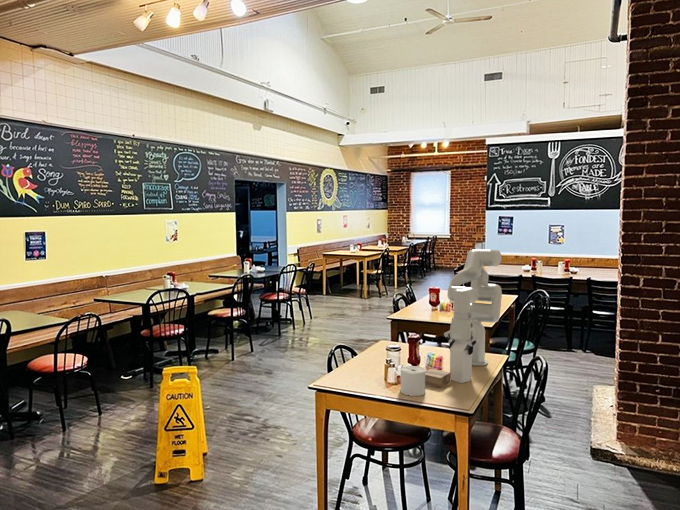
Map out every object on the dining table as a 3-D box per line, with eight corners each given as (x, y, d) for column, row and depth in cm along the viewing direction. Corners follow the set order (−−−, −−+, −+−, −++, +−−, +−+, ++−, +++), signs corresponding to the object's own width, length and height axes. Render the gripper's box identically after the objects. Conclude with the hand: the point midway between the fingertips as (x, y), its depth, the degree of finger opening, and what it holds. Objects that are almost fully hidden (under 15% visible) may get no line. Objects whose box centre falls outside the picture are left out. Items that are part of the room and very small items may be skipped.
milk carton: (462, 383, 227) (462, 343, 225) (449, 379, 232) (450, 340, 231) (471, 380, 231) (472, 340, 230) (459, 376, 237) (459, 337, 235)
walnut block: (430, 378, 235) (431, 368, 235) (450, 383, 229) (450, 372, 228) (420, 384, 227) (420, 373, 227) (440, 389, 221) (440, 378, 220)
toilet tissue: (420, 398, 209) (420, 375, 208) (394, 393, 215) (394, 370, 214) (428, 390, 218) (429, 368, 218) (403, 386, 224) (403, 364, 223)
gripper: (482, 316, 228) (482, 353, 229) (447, 312, 238) (446, 348, 239) (477, 319, 222) (476, 357, 223) (440, 315, 231) (440, 351, 233)
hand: (461, 352), depth 231 cm, fingers closed on milk carton, 8 cm apart
